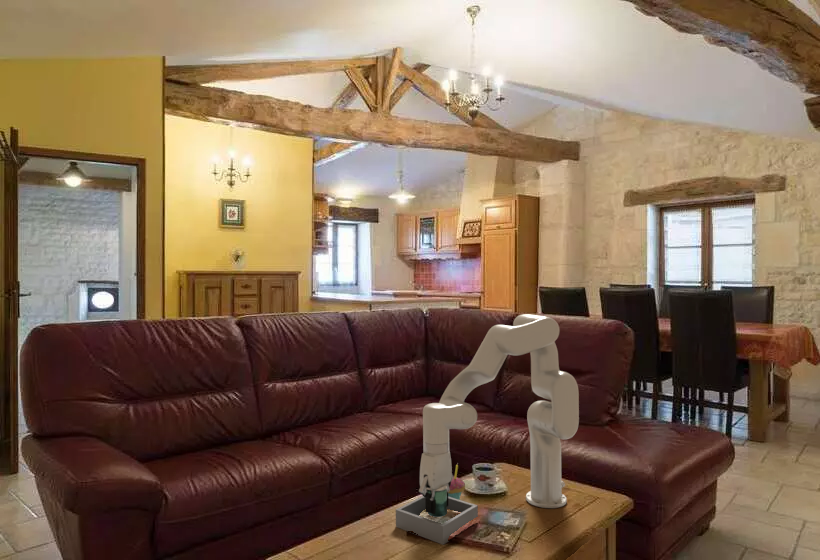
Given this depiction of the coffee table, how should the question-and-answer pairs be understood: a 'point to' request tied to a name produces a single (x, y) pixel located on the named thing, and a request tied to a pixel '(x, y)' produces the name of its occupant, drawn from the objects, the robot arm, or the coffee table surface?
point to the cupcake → (456, 486)
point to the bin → (430, 529)
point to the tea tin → (440, 501)
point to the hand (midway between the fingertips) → (437, 508)
